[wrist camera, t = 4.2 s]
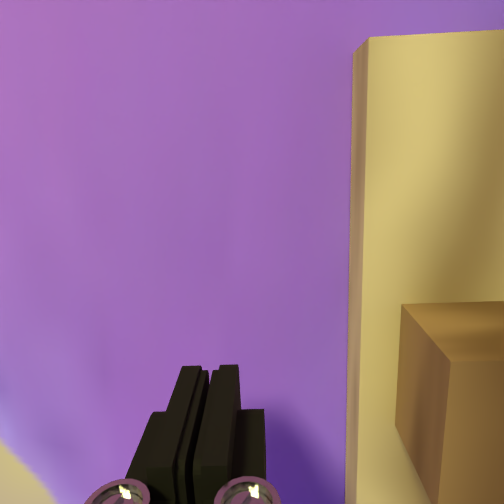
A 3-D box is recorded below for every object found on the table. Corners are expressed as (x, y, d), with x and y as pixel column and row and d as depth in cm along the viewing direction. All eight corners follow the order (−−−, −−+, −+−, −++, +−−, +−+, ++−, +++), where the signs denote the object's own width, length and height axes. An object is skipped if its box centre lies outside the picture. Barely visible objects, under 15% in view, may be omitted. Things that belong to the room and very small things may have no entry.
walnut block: (546, 299, 13) (650, 356, 9) (527, 422, 14) (614, 513, 10) (401, 303, 13) (451, 361, 9) (394, 425, 14) (436, 515, 11)
